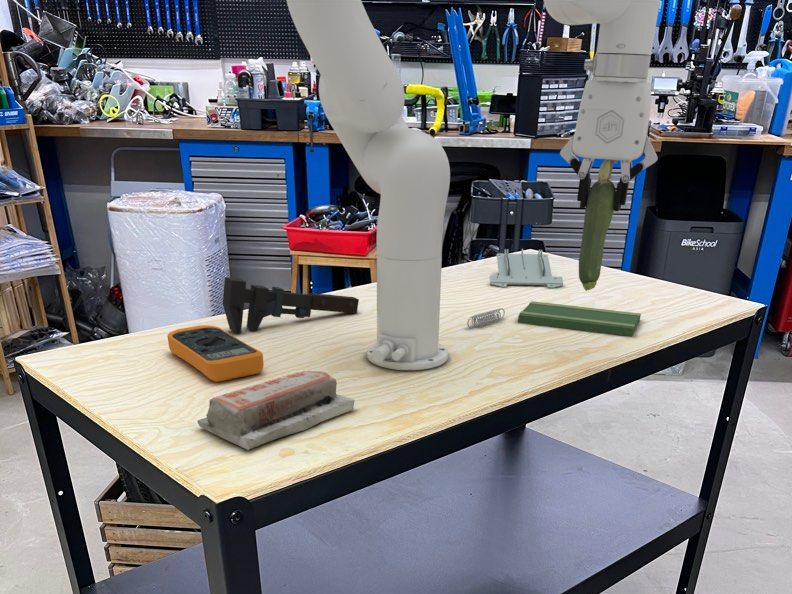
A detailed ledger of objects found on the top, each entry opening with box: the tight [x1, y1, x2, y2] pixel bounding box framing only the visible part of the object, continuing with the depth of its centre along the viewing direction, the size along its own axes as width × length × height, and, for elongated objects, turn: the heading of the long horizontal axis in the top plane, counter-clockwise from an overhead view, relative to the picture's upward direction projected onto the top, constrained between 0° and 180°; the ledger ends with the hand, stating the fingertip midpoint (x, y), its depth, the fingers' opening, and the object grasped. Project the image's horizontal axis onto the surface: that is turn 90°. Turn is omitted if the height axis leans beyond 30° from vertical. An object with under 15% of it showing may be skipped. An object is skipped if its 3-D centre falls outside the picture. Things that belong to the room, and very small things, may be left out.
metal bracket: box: [489, 248, 564, 289], centre depth 168 cm, size 14×6×15 cm
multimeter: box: [167, 324, 264, 383], centre depth 119 cm, size 9×18×3 cm, turn 36°
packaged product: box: [197, 370, 356, 451], centre depth 101 cm, size 18×5×10 cm
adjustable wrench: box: [222, 276, 360, 334], centre depth 138 cm, size 8×3×25 cm
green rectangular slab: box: [517, 300, 642, 337], centre depth 142 cm, size 10×20×2 cm, turn 69°
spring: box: [466, 307, 506, 329], centre depth 140 cm, size 10×2×2 cm, turn 134°
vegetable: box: [578, 159, 619, 292], centre depth 122 cm, size 4×4×20 cm
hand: (600, 207), depth 121 cm, fingers closed on vegetable, 4 cm apart
